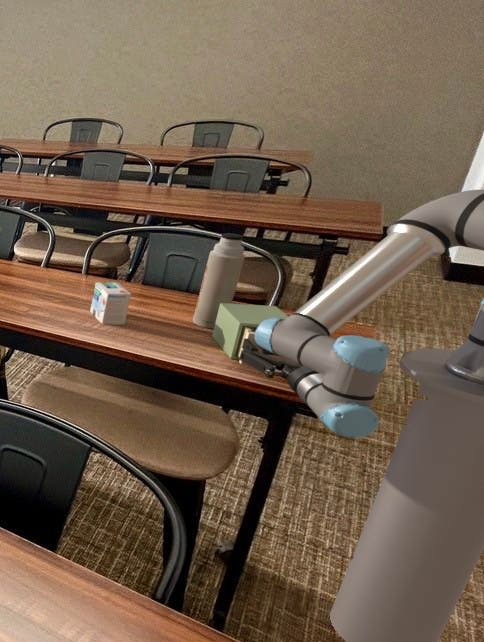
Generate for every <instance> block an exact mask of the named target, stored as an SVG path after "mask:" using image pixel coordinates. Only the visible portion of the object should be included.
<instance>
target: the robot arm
mask: <svg viewBox="0 0 484 642" xmlns="http://www.w3.org/2000/svg"><path fill="white" fill-rule="evenodd" d="M386 234H387V235H386V237H384V238H383V239H382V240H381V241H379V242H378V243H377V244H376V245H374V246H373V247H372V248H371V249H370V250H369V251H367V252H366V253H365V254H363V255H362V256H361V257H360V258H359V259H357V260H356V261H355V262H354V263H353V264H352V265H350V266H349V267H348V268H347V269H345V270H344V271H343V272H342V273H340V274H339V275H338V276H337V277H336V278H334V279H333V280H332V281H331V282H330V283H328V284H327V285H326V286H325V287H324V288H322V289H321V290H320V291H319V292H318V293H317V294H314V296H313V297H312V298H310V299H309V300H308V301H306V303H304V304H303V305H302V306H301V307H299V308H298V309H297V310H296V311H294V312H293V313H292V314H291V315H289V316H288V318H287V319H286V320H285V319H281V318H275V317H274V318H270V319H268V320H265V321H263V322H262V323H261V324H260V325H259V326H258V328H257V329H256V332H255V341H256V343H257V344H258V345H259V346H260V347H262V348H264V349H266V350H268V351H270V352H272V353H274V354H275V355H279V356H282V357H284V358H287V359H289V360H291V361H294V362H296V363H298V364H293V363H291V362H288V361H286V360H281V361H280V360H278V359H275V358H273V357H270V356H268V355H265V354H263V353H260V352H258V349H257V348H256V347H255V346H254V344H253V343H252V342H251V341H250V340H249V339H246V338H244V341H243V345H242V349H243V350H242V351H241V354H240V358H239V361H240V360H241V361H242V362H244V363H246V364H245V365H247V364H248V366H249V367H251V368H253V369H255V370H256V371H258V372H260V373H262V374H263V375H264V376H265V377H266V378H268V379H273V378H274V376H279V377H281V378H283V379H285V380H286V381H287V383H288V386H289V388H290V389H291V390H292V391H293V392H294V393H295V394H296V395H297V396H298V397H299V398H300V399H301V400H302V402H304V403H305V404H306V405H307V407H308V408H310V410H312V412H313V413H314V414H315V416H316V417H318V418H319V419H320V421H321V422H322V424H323V425H324V426H326V427H327V428H328V429H329V430H331V431H332V432H333V433H334V434H336V435H338V436H340V437H343V438H348V439H358V438H364V437H367V436H369V435H370V436H371V434H373V433H374V432H375V431H377V429H378V428H379V425H380V418H379V416H378V415H377V413H376V412H375V410H374V409H373V408H372V406H373V403H374V401H375V394H376V391H377V389H378V386H379V383H380V381H381V378H382V377H383V373H384V372H385V371H386V368H387V361H388V358H389V353H390V350H389V349H390V348H388V346H387V345H386V344H385V343H383V342H382V341H380V340H378V339H374V338H372V337H365V336H361V335H355V334H354V335H353V334H352V335H351V334H348V335H342V336H339V337H337V339H336V338H335V337H331V336H332V335H333V334H334V333H336V332H337V331H338V330H339V329H341V328H342V327H343V326H345V325H346V324H347V323H348V322H349V321H350V320H352V319H353V318H354V317H356V316H357V315H359V314H360V313H361V312H362V311H363V310H365V309H366V308H367V307H368V306H369V305H370V304H372V303H373V302H374V301H376V300H377V299H378V298H379V297H381V296H382V295H383V294H384V293H385V292H387V291H388V290H389V289H391V288H392V287H393V286H394V285H395V284H397V283H398V282H399V281H401V280H402V279H403V278H404V277H405V276H407V275H408V274H409V273H410V272H412V271H413V270H414V269H416V268H417V267H418V266H419V265H420V264H422V263H423V262H425V261H426V260H427V259H428V258H434V257H439V256H441V255H443V254H444V253H445V252H446V251H447V250H449V249H451V248H455V247H463V248H468V249H473V250H479V251H483V252H484V189H471V190H463V191H458V192H454V193H451V194H448V195H445V196H441V197H438V198H436V199H434V200H431V201H429V202H427V203H425V204H422V205H420V206H418V207H417V208H415V209H413V210H411V211H409V212H408V213H406V214H404V215H403V216H401V217H400V218H399V219H397V220H396V221H395V222H394V223H392V224H391V225H390V226H389V227H387V230H386ZM477 311H478V312H477V314H476V316H475V319H474V322H473V324H472V326H471V328H470V331H469V334H468V336H467V338H466V340H465V341H464V342H463V343H462V344H461V345H460V346H459V347H457V349H455V350H456V351H452V352H451V354H450V356H449V357H448V358H447V360H446V363H445V365H444V367H445V369H446V370H447V371H449V372H450V373H452V374H454V375H456V376H458V377H460V378H463V379H465V380H468V381H471V382H474V383H478V384H482V385H484V298H483V300H482V301H481V302H480V305H479V309H478V310H477ZM285 365H287V366H286V367H285Z"/></svg>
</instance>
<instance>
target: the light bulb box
mask: <svg viewBox="0 0 484 642" xmlns="http://www.w3.org/2000/svg"><path fill="white" fill-rule="evenodd" d="M131 297H132V293H131V292H130V291H128V290H127V288H125V287H123V286H122V285H121V284H120V283H119V282H118V281H117V282H116V281H114V282H107V281H106V282H104V281H103V282H102V281H101V282H100V281H99V282H98V281H97V282H95V283H94V291H93V295H92V300H91V305H90V310H89V311H90V313H91V314H92V315H93V316H94V318H96V320H97V321H98V322H99V323H100V324H102V325H120V326H124V325H126V321H127V316H128V311H129V306H130V301H131Z"/></svg>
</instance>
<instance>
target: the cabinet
mask: <svg viewBox="0 0 484 642" xmlns="http://www.w3.org/2000/svg"><path fill="white" fill-rule="evenodd" d="M274 317H275V318H281V319H285V320H286V319H287V318H288V317H289V316H288V315H287V314H286V313H285V312H284V311H282V310H281V309H280V308H279V307H277V306H276V305H262V304H261V305H260V304H243V303H232V304H228V303H220V306H219V310H218V314H217V319H216V323H215V327H214V329H213V331H212V336H211V337H212V339H213V340H214V341H215V342H216V343H217V344H218V346H219V347H220V348H221V349H222V350H223V352H224V353H225V355H227V356H228V358H229V359H230V360H239V356H238V355H237V354H236V350H237V346H238V343H239V339H240V335H241V331H242V327H243V326H251V327H258V326H259V325H260V324H261V323H262V322H263V321H265V320H268V319H270V318H274ZM239 361H240V360H239Z"/></svg>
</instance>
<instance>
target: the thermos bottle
mask: <svg viewBox="0 0 484 642" xmlns="http://www.w3.org/2000/svg"><path fill="white" fill-rule="evenodd" d="M243 239H244V235H242V234H238V233H232V232H226V233H225V232H224V233H222V234H221V238H220V239H219V242H217V243H215V245H214V246H213V250H210V252H209V255H208V259H207V261H206V267H205V271H204V274H203V277H202V282H201V285H200V290H199V294H198V298H197V301H196V306H195V308H194V309H195V310H194V313H193V317H192V323H193V324H195V325H197V326H199V327H202V328H206V329H212V330H214V327H215V323H216V319H217V314H218V310H219V306H220V303H228V304H233V299H234V297H235V294H236V291H237V287H238V283H239V280H240V276H241V272H242V269H243V265H244V262H245V258H246V255H245V254H244V252H245V247H244V246H243V245H242V242H243Z"/></svg>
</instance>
